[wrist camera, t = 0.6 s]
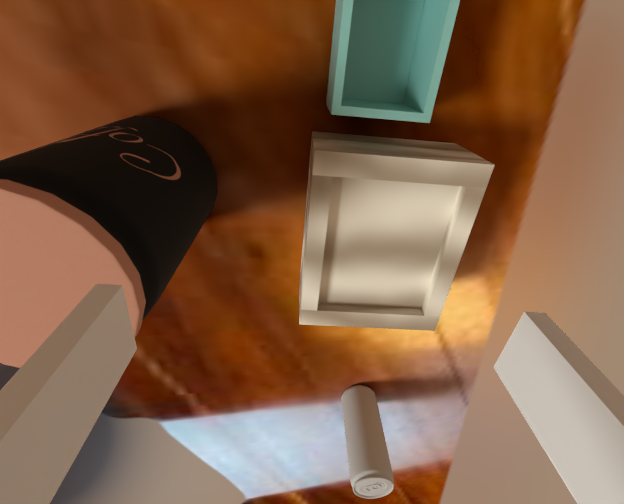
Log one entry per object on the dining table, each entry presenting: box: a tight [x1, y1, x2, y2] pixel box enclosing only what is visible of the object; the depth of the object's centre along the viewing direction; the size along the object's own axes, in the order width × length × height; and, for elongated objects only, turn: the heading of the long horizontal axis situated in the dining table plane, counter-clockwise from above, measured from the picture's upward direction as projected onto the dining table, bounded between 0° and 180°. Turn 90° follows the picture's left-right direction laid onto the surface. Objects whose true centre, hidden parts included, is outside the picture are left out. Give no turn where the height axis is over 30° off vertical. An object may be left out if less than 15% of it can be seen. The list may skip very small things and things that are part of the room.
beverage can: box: [341, 385, 394, 499], centre depth 42 cm, size 5×5×12 cm
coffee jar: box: [0, 116, 217, 368], centre depth 23 cm, size 11×11×18 cm
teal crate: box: [326, 0, 460, 123], centre depth 23 cm, size 10×7×6 cm
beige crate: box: [299, 131, 495, 331], centre depth 30 cm, size 16×13×7 cm
